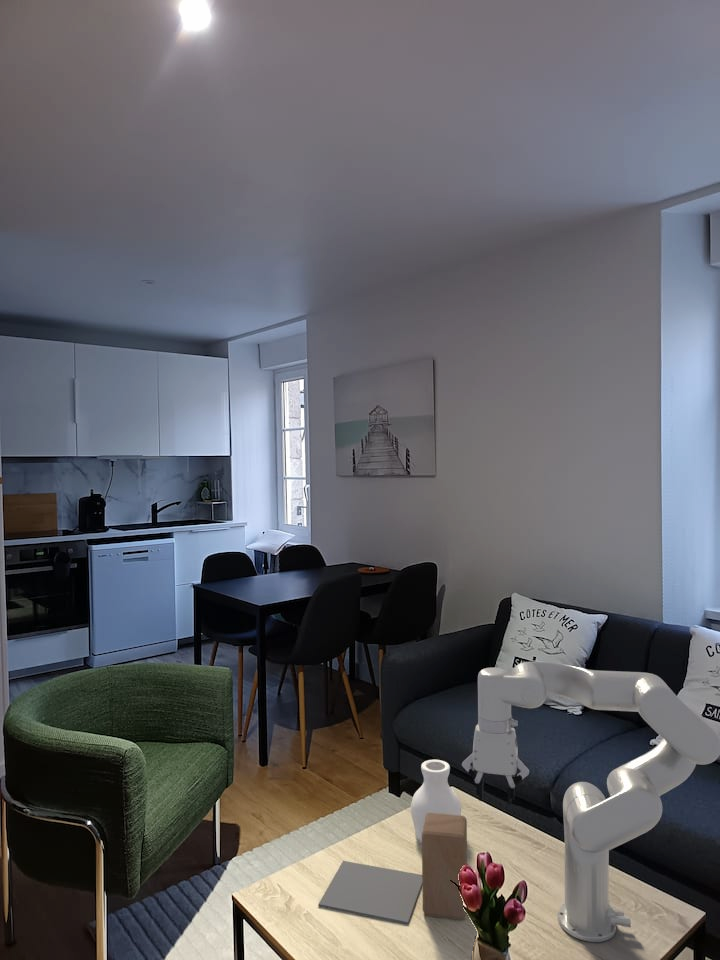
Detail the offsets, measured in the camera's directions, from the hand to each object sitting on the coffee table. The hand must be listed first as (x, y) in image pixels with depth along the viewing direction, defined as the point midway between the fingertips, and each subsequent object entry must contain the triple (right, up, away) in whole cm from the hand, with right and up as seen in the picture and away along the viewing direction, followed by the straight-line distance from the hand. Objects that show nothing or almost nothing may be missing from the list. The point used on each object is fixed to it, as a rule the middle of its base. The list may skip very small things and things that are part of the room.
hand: (495, 799), depth 156 cm
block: (-11, -28, +5) cm, 30 cm away
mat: (-28, -28, +10) cm, 41 cm away
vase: (-10, -27, +35) cm, 45 cm away
